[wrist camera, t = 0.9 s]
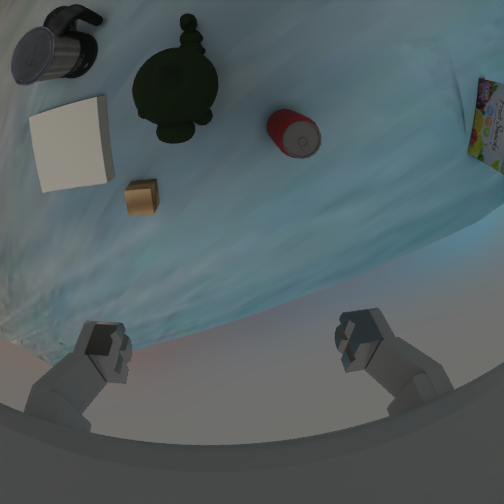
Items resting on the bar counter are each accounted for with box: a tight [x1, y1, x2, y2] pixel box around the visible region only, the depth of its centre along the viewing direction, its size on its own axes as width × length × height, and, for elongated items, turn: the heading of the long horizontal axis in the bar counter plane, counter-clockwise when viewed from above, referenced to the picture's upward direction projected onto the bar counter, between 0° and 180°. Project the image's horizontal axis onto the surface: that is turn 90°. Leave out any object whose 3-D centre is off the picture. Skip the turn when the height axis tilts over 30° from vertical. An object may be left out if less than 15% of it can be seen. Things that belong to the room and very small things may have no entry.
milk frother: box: [11, 4, 103, 85], centre depth 23 cm, size 14×16×15 cm
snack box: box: [468, 79, 504, 175], centre depth 37 cm, size 21×6×15 cm, turn 178°
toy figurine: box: [132, 13, 218, 144], centre depth 27 cm, size 9×19×25 cm, turn 0°
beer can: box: [267, 109, 321, 159], centre depth 40 cm, size 7×7×12 cm
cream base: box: [29, 95, 115, 193], centre depth 40 cm, size 16×16×4 cm
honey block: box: [124, 179, 159, 216], centre depth 47 cm, size 5×5×5 cm
